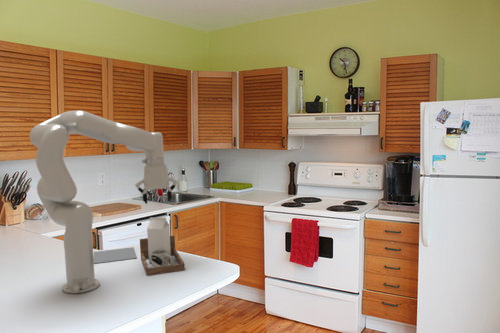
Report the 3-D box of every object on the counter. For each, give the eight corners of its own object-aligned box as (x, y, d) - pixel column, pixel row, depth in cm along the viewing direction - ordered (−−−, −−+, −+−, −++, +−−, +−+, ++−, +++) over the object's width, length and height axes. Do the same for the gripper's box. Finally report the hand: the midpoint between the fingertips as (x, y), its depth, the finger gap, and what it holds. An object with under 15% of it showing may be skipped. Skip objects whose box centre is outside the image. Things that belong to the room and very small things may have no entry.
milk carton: (164, 264, 183) (162, 219, 181) (148, 263, 184) (146, 219, 182) (171, 258, 190) (168, 215, 188) (155, 258, 191) (153, 215, 189)
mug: (148, 269, 177) (147, 253, 176) (159, 264, 183) (158, 248, 182) (168, 272, 172) (167, 256, 172) (178, 267, 178) (177, 251, 177)
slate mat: (136, 258, 191) (136, 257, 191) (93, 264, 186) (93, 263, 186) (133, 247, 208) (133, 247, 208) (93, 252, 203) (93, 251, 202)
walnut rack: (184, 270, 174) (183, 248, 173) (146, 275, 169) (145, 253, 168) (175, 254, 195) (174, 235, 194) (140, 259, 190) (139, 239, 189)
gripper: (134, 164, 176) (137, 205, 178) (177, 161, 182) (179, 201, 184) (133, 162, 183) (135, 202, 185) (174, 159, 189) (176, 198, 191)
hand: (157, 201), depth 185 cm, fingers open, 9 cm apart
